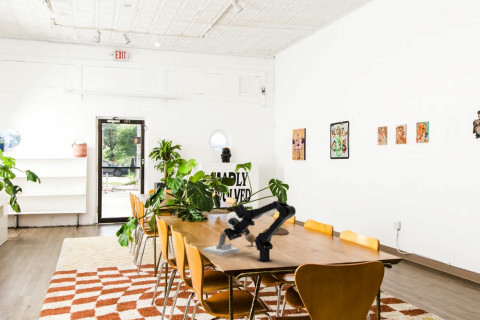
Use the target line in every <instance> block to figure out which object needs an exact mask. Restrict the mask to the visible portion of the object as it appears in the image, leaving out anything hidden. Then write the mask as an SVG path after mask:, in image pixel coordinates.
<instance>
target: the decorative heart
mask: <svg viewBox="0 0 480 320" xmlns="http://www.w3.org/2000/svg"><path fill="white" fill-rule="evenodd" d="M231 218H236V219H238V220H239V221H241V220H242V219H241V218H238V216H237V215H236V213H235V212H234V211H231V212H228V213H227V215H226V220H225V221H226V224H227V226H228V228H231V229H233V226H232V225H231V224H229V223H228V220H229V219H231Z"/></svg>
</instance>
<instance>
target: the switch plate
mask: <svg viewBox="0 0 480 320" xmlns="http://www.w3.org/2000/svg"><path fill="white" fill-rule="evenodd" d="M232 244H233V243H225V245H222V248H219V244H218V245H212V246H209V247H204V248H202V251H203V252H204V253H209V254H213V255H219V256H225V255H226V256H227V255H230V253H231V254H233V253H234V252H235V253H238V252H240V248H239V247H234V246H233V245H232ZM235 253H234V254H235Z"/></svg>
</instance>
